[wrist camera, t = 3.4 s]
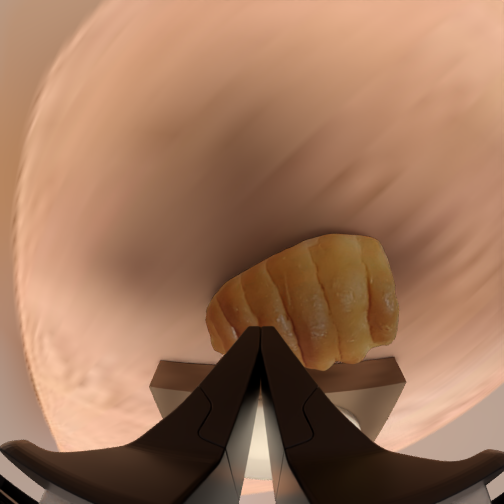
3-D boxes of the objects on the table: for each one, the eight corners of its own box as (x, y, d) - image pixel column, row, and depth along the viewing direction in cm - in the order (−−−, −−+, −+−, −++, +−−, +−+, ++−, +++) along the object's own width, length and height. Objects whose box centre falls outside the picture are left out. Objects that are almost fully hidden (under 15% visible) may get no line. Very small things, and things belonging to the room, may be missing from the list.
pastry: (233, 359, 16) (227, 407, 13) (189, 264, 14) (165, 306, 10) (383, 321, 15) (406, 365, 11) (371, 213, 12) (406, 240, 9)
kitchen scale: (394, 357, 16) (410, 390, 13) (353, 446, 21) (358, 472, 18) (160, 360, 17) (145, 395, 14) (192, 448, 22) (187, 475, 19)
